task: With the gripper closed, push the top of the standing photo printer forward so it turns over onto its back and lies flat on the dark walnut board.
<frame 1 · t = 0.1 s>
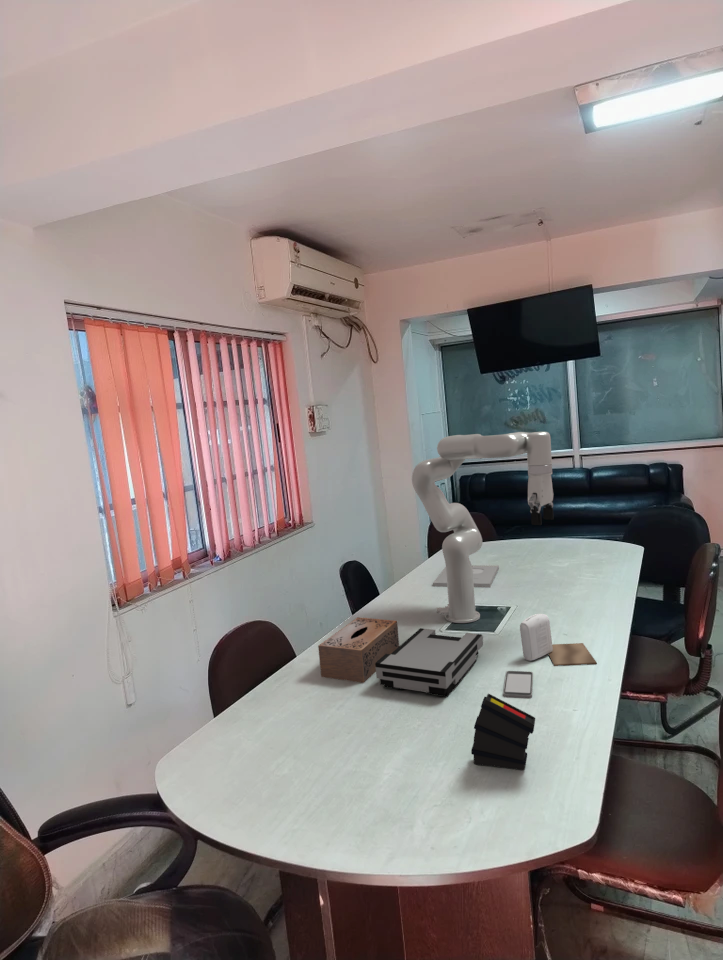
hand: (542, 522, 202), 37 cm above the table, tool pointing down, fingers open, 9 cm apart
award plaque: (467, 578, 280), on the table
tissue box cover: (362, 664, 194), on the table
photo printer: (538, 655, 188), on the table, touching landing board
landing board: (569, 654, 187), on the table
smartphone: (518, 687, 170), on the table
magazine: (505, 765, 133), on the table
game console: (433, 673, 183), on the table
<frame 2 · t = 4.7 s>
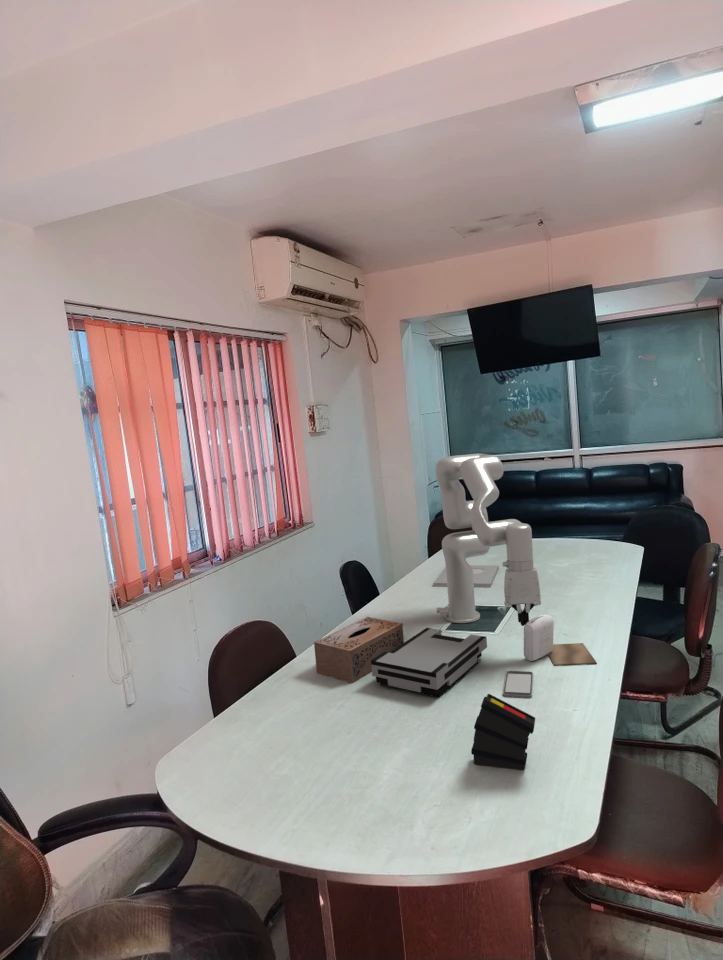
hand: (523, 624, 187), 10 cm above the table, tool pointing down, fingers closed
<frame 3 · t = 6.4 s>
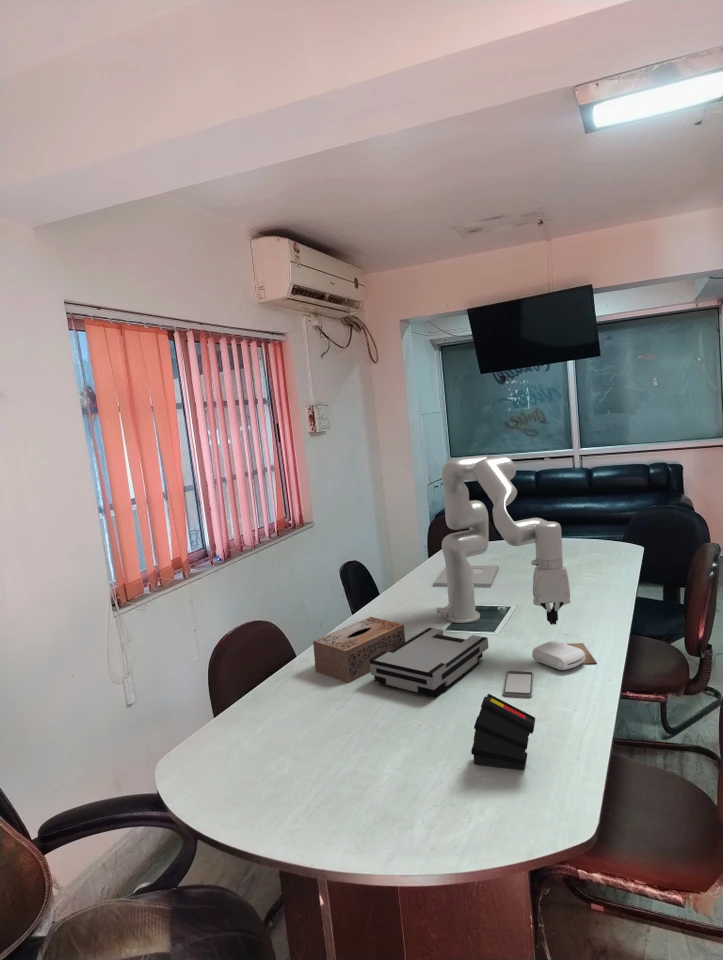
hand: (552, 623, 186), 10 cm above the table, tool pointing down, fingers closed
photo printer: (543, 649, 186), point 3 cm above the table, touching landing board
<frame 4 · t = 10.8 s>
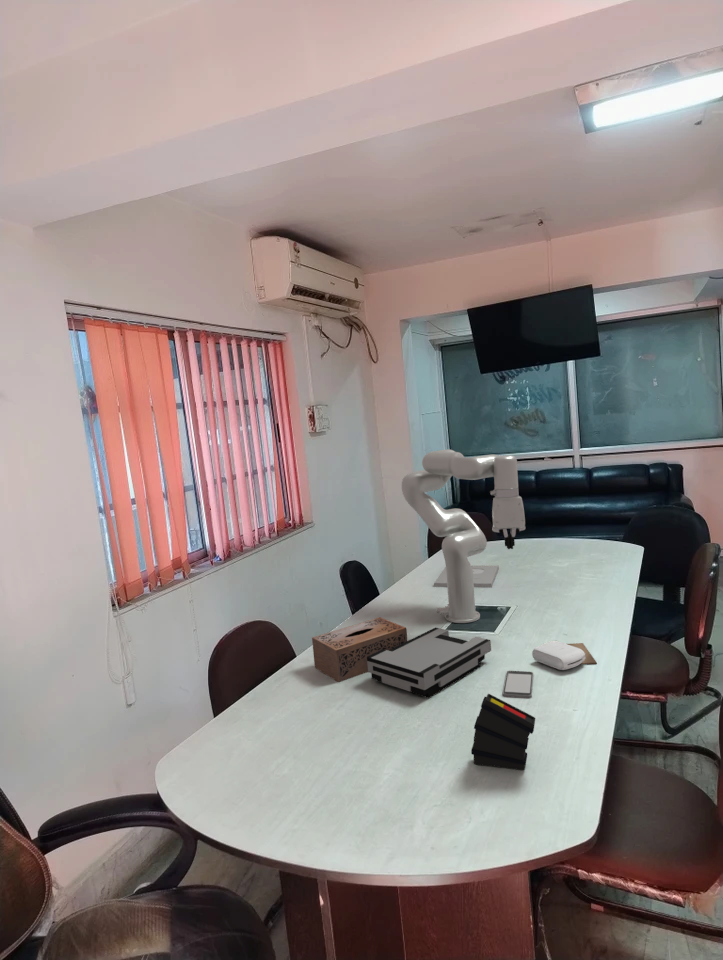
hand: (509, 548, 205), 29 cm above the table, tool pointing down, fingers closed
at the end: photo printer tilted 90°; photo printer inside the target area (6.0 cm from its centre), point 2.6 cm above the table; photo printer touching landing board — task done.
